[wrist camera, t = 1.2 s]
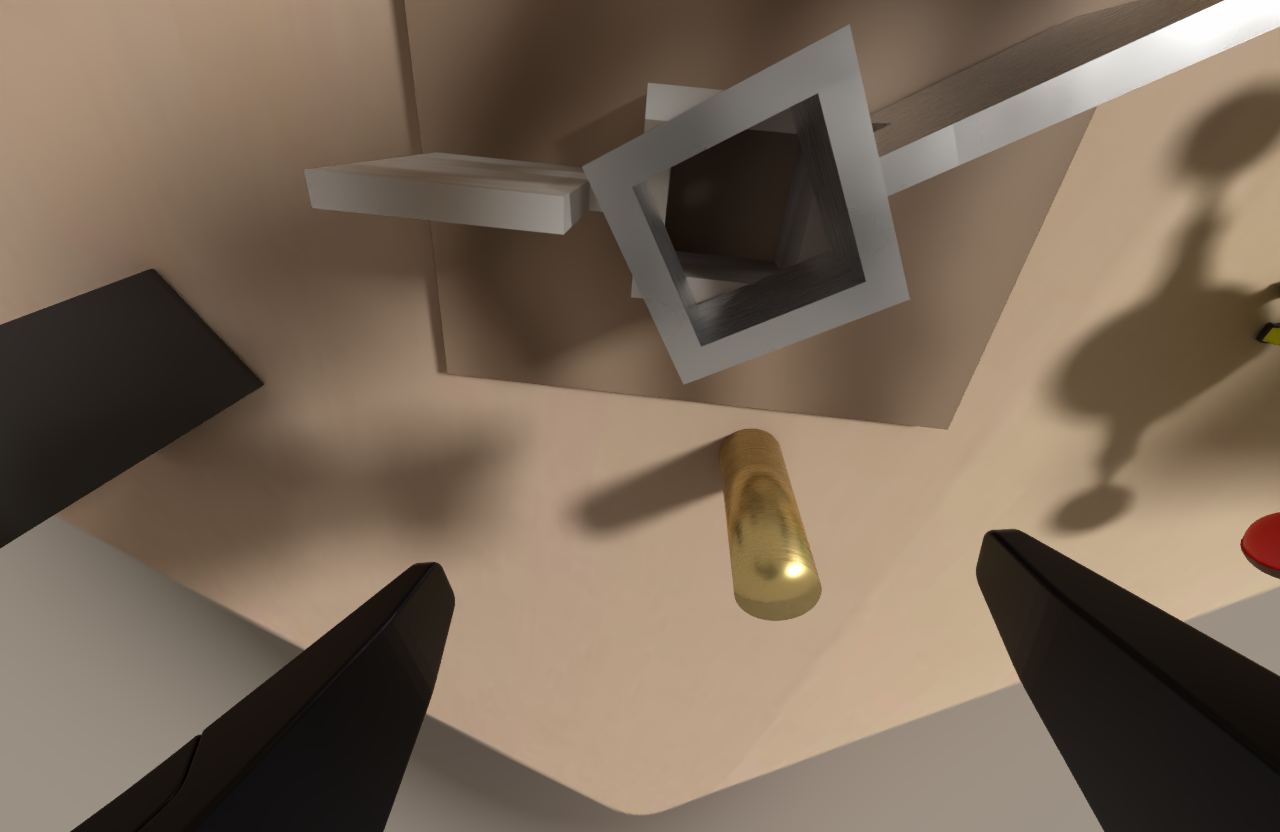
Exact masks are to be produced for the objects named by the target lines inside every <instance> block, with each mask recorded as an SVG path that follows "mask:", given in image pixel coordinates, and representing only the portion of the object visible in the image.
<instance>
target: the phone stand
mask: <svg viewBox="0 0 1280 832" xmlns="http://www.w3.org/2000/svg"><path fill="white" fill-rule="evenodd" d="M263 385H264V384H263V383H262V382H261V381H260V380H259V379H258V378H257V377H256V376H255V375H254V374H253V373H252V371H251V370H250V369H249V368H248V367H247V366H246V365H245V364H244V363H243V362H242V361H241V360H240V359H239V358H238V357H237V356H236V355H235V354H234V353H233V352H232V351H231V349H230V348H229V347H228V346H227V345H226V344H225V343H224V342H223V341H222V340H221V339H220V338H219V337H218V336H217V335H216V334H215V333H214V332H213V331H212V330H211V329H210V327H209V326H208V325H207V324H206V323H205V322H204V321H203V320H202V319H201V318H200V317H199V316H198V315H197V314H196V313H195V312H194V311H193V310H192V309H191V308H190V307H189V305H188V304H187V303H186V302H185V301H184V300H183V299H182V298H181V297H180V296H179V295H178V294H177V293H176V292H175V291H174V290H173V289H172V288H171V287H170V286H169V285H168V283H167V282H166V281H165V280H164V279H163V278H162V277H161V276H160V275H159V274H158V273H157V272H156V271H155V270H154V269H150V270H146V271H144V272H141V273H138V274H136V275H133V276H130V277H128V278H125V279H122V280H120V281H117V282H114V283H112V284H109V285H106V286H103V287H101V288H98V289H95V290H93V291H90V292H87V293H85V294H82V295H79V296H77V297H74V298H71V299H69V300H66V301H63V302H61V303H58V304H55V305H52V306H50V307H47V308H44V309H42V310H39V311H36V312H34V313H31V314H28V315H26V316H23V317H20V318H18V319H15V320H12V321H9V322H7V323H4V324H1V325H0V548H2V547H3V546H5V545H6V544H8V543H10V542H11V541H13V540H14V539H16V538H18V537H19V536H21V535H22V534H24V533H26V532H27V531H29V530H31V529H32V528H34V527H35V526H37V525H39V524H40V523H42V522H43V521H45V520H47V519H48V518H50V517H52V516H53V515H55V514H56V513H58V512H60V511H61V510H63V509H64V508H66V507H68V506H69V505H71V504H73V503H74V502H76V501H77V500H79V499H81V498H82V497H84V496H85V495H87V494H89V493H90V492H92V491H93V490H95V489H97V488H98V487H100V486H102V485H103V484H105V483H106V482H108V481H110V480H111V479H113V478H114V477H116V476H118V475H119V474H121V473H123V472H124V471H126V470H127V469H129V468H131V467H132V466H134V465H135V464H137V463H139V462H140V461H142V460H144V459H145V458H147V457H148V456H150V455H152V454H153V453H155V452H156V451H158V450H160V449H161V448H163V447H165V446H166V445H168V444H169V443H171V442H173V441H174V440H176V439H177V438H179V437H181V436H182V435H184V434H185V433H187V432H189V431H190V430H192V429H194V428H195V427H197V426H198V425H200V424H202V423H203V422H205V421H206V420H208V419H210V418H211V417H213V416H215V415H216V414H218V413H219V412H221V411H223V410H224V409H226V408H227V407H229V406H231V405H232V404H234V403H236V402H237V401H239V400H240V399H242V398H244V397H245V396H247V395H248V394H250V393H252V392H253V391H255V390H257V389H258V388H260V387H261V386H263Z"/></svg>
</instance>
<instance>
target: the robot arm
mask: <svg viewBox="0 0 1280 832" xmlns="http://www.w3.org/2000/svg"><path fill="white" fill-rule="evenodd" d="M976 577H977V581H978V584H979V587H980V589H981V591H982V594H983V596H984V598H985V601H986V603H987V605H988V608H989V610H990V612H991V614H992V617H993V619H994V621H995V624H996V626H997V628H998V631H999V633H1000V635H1001V638H1002V640H1003V642H1004V645H1005V647H1006V649H1007V652H1008V654H1009V656H1010V659H1011V661H1012V663H1013V666H1014V668H1015V670H1016V672H1017V674H1018V676H1019V679H1020V681H1021V682H1022V684H1023V686H1024V688H1025V690H1026V692H1027V694H1028V696H1029V697H1030V699H1031V701H1032V703H1033V704H1034V706H1035V708H1036V710H1037V712H1038V713H1039V715H1040V717H1041V719H1042V721H1043V723H1044V724H1045V726H1046V728H1047V730H1048V731H1049V733H1050V735H1051V737H1052V739H1053V740H1054V742H1055V744H1056V746H1057V748H1058V749H1059V751H1060V753H1061V755H1062V756H1063V758H1064V760H1065V762H1066V764H1067V766H1068V767H1069V769H1070V771H1071V773H1072V775H1073V776H1074V778H1075V780H1076V782H1077V783H1078V785H1079V787H1080V789H1081V791H1082V792H1083V794H1084V796H1085V798H1086V800H1087V801H1088V803H1089V805H1090V807H1091V809H1092V810H1093V812H1094V814H1095V815H1096V817H1097V819H1098V821H1099V823H1100V825H1101V826H1102V828H1103V830H1104V832H1280V676H1279V675H1277V674H1275V673H1273V672H1271V671H1270V670H1268V669H1266V668H1264V667H1263V666H1261V665H1259V664H1257V663H1256V662H1254V661H1252V660H1250V659H1248V658H1246V657H1245V656H1243V655H1241V654H1240V653H1238V652H1236V651H1234V650H1232V649H1230V648H1229V647H1227V646H1225V645H1223V644H1222V643H1220V642H1218V641H1216V640H1215V639H1213V638H1211V637H1209V636H1207V635H1206V634H1204V633H1202V632H1200V631H1198V630H1197V629H1195V628H1193V627H1191V626H1190V625H1188V624H1186V623H1184V622H1183V621H1181V620H1179V619H1177V618H1175V617H1174V616H1172V615H1170V614H1168V613H1167V612H1165V611H1163V610H1161V609H1159V608H1158V607H1156V606H1154V605H1152V604H1150V603H1149V602H1147V601H1145V600H1143V599H1142V598H1140V597H1138V596H1136V595H1134V594H1133V593H1131V592H1129V591H1127V590H1126V589H1124V588H1122V587H1120V586H1118V585H1117V584H1115V583H1113V582H1111V581H1110V580H1108V579H1106V578H1104V577H1102V576H1101V575H1099V574H1097V573H1095V572H1093V571H1092V570H1090V569H1088V568H1086V567H1085V566H1083V565H1081V564H1079V563H1077V562H1076V561H1074V560H1072V559H1070V558H1069V557H1067V556H1065V555H1063V554H1061V553H1060V552H1058V551H1056V550H1054V549H1053V548H1051V547H1049V546H1047V545H1045V544H1044V543H1042V542H1040V541H1038V540H1037V539H1035V538H1033V537H1031V536H1029V535H1028V534H1026V533H1024V532H1022V531H1020V530H1017V529H1003V530H991V531H988V532H987V533H986V534H985V535H984V538H983V542H982V546H981V550H980V554H979V558H978V562H977V566H976ZM454 607H455V597H454V593H453V590H452V588H451V586H450V584H449V581H448V579H447V577H446V575H445V572H444V570H443V568H442V566H441V565H440V564H439V563H436V562H426V563H417V564H414V565H412V566H411V567H409V568H408V569H407V570H406V571H404V572H403V573H402V574H401V575H399V576H398V577H397V578H396V579H394V580H393V581H392V582H390V583H389V584H388V585H387V586H385V587H384V588H383V589H382V590H380V591H379V592H378V593H377V594H375V595H374V596H373V597H371V598H370V599H369V600H368V601H366V602H365V603H364V604H363V605H361V606H360V607H359V608H358V609H356V610H355V611H354V612H353V613H351V614H350V615H349V616H347V617H346V618H345V619H344V620H342V621H341V622H340V623H339V624H337V625H336V626H335V627H334V628H332V629H331V630H330V631H328V632H327V633H326V634H325V635H323V636H322V637H321V638H320V639H318V640H317V641H316V642H315V643H313V644H312V645H311V646H310V647H308V648H307V649H306V650H304V651H303V652H302V653H301V654H299V655H298V656H297V657H296V658H295V659H293V660H292V661H291V662H289V663H288V664H287V665H285V666H284V667H283V668H282V669H280V670H279V671H278V672H277V673H276V674H274V675H273V676H272V677H270V678H269V679H268V680H266V681H265V682H264V683H263V684H261V685H260V686H259V687H258V688H256V689H255V690H254V691H253V692H251V693H250V694H249V695H247V696H246V697H245V698H244V699H242V700H241V701H240V702H239V703H237V704H236V705H235V706H234V707H232V708H231V709H230V710H229V711H227V712H226V713H225V714H224V715H222V716H221V717H220V718H218V719H217V720H216V721H215V722H213V723H212V724H211V725H210V726H208V727H207V728H206V729H205V730H204V731H203V732H202V735H197V736H195V737H194V738H193V739H192V740H191V741H189V742H188V743H187V744H186V745H184V746H183V747H182V748H181V749H179V750H178V751H177V752H175V753H174V754H173V755H171V756H170V757H169V758H168V759H166V760H165V761H164V762H162V763H161V764H160V765H159V766H157V767H156V768H155V769H153V770H152V771H151V772H150V773H148V774H147V775H146V776H144V777H143V778H142V779H140V780H139V781H138V782H137V783H135V784H134V785H133V786H132V787H130V788H129V789H127V790H126V791H125V792H124V793H122V794H121V795H120V796H118V797H117V798H115V799H114V800H113V801H111V802H110V803H109V804H107V805H106V806H105V807H103V808H102V809H101V810H99V811H98V812H97V813H95V814H94V815H92V816H91V817H90V818H88V819H87V820H85V821H84V822H83V823H82V824H80V825H79V826H77V827H76V828H75V829H73V830H72V831H71V832H383V831H384V829H385V826H386V823H387V820H388V817H389V814H390V812H391V809H392V806H393V803H394V801H395V797H396V795H397V792H398V789H399V787H400V784H401V781H402V778H403V775H404V773H405V770H406V766H407V764H408V762H409V759H410V756H411V753H412V750H413V748H414V745H415V742H416V739H417V736H418V734H419V731H420V728H421V725H422V722H423V720H424V717H425V714H426V711H427V708H428V705H429V702H430V699H431V696H432V693H433V690H434V686H435V683H436V679H437V675H438V671H439V667H440V663H441V659H442V655H443V651H444V647H445V643H446V639H447V635H448V631H449V627H450V623H451V619H452V615H453V611H454Z"/></svg>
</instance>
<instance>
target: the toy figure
mask: <svg viewBox="0 0 1280 832" xmlns="http://www.w3.org/2000/svg"><path fill="white" fill-rule="evenodd" d="M1256 340H1257V341H1259V342H1261V343H1272V344H1275V345H1279V346H1280V323H1277V324H1274V323H1268V324H1267V326H1266V327H1265V328H1264V329H1263V330H1262V332H1261V333H1260V334H1259V335H1258V336H1257V338H1256ZM1240 545H1241V550H1242V552H1243V554H1244V555H1245V557H1246V558H1247V560H1248V561H1249V562H1250V563H1251V564H1252V565H1253V566H1255V567H1256V568H1257V569H1259V570H1261V571H1262V572H1264V573H1266V574H1268V575H1271V576H1273V577H1275V578H1279V579H1280V512H1278V513H1274V514H1270V515H1267V516H1264V517H1262V518H1260V519H1258V520H1257V521H1255V522H1254V523H1253V524H1252V525H1251V526H1250V527H1249V528H1248V529H1247V531H1246V532H1245V534H1244V536H1243V539H1241V544H1240Z"/></svg>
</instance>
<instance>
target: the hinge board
mask: <svg viewBox="0 0 1280 832" xmlns="http://www.w3.org/2000/svg"><path fill="white" fill-rule="evenodd" d="M1132 1H1136V0H404V2H405V11H406V20H407V28H408V37H409V46H410V54H411V63H412V72H413V80H414V89H415V97H416V106H417V115H418V123H419V132H420V141H421V149H422V154H419V155H412V156H404V157H396V158H389V159H381V160H373V161H366V162H358V163H350V164H342V165H335V166H327V167H319V168H312V169H304V174H305V178H306V183H307V187H308V192H309V196H310V201H311V205H312V208H315V209H325V210H334V211H344V212H353V213H363V214H372V215H382V216H391V217H401V218H410V219H420V220H429V221H430V227H431V236H432V244H433V253H434V261H435V270H436V279H437V287H438V296H439V305H440V313H441V322H442V331H443V339H444V348H445V356H446V365H447V374H454V375H462V376H471V377H480V378H489V379H498V380H507V381H516V382H525V383H534V384H543V385H552V386H561V387H570V388H579V389H588V390H597V391H606V392H615V393H624V394H633V395H642V396H651V397H660V398H669V399H678V400H687V401H696V402H705V403H714V404H723V405H732V406H741V407H750V408H758V409H767V410H776V411H785V412H794V413H803V414H812V415H821V416H830V417H839V418H848V419H857V420H866V421H875V422H884V423H893V424H902V425H911V426H920V427H929V428H938V429H947V430H948V428H949V426H950V423H951V421H952V419H953V417H954V415H955V413H956V410H957V408H958V406H959V404H960V402H961V400H962V397H963V395H964V393H965V391H966V389H967V387H968V384H969V382H970V380H971V378H972V376H973V374H974V371H975V369H976V367H977V365H978V363H979V361H980V358H981V356H982V354H983V352H984V350H985V348H986V345H987V343H988V341H989V339H990V337H991V335H992V332H993V330H994V328H995V326H996V324H997V322H998V319H999V317H1000V315H1001V313H1002V311H1003V309H1004V307H1005V304H1006V302H1007V300H1008V298H1009V296H1010V294H1011V291H1012V289H1013V287H1014V285H1015V283H1016V281H1017V278H1018V276H1019V274H1020V272H1021V270H1022V268H1023V265H1024V263H1025V261H1026V259H1027V257H1028V255H1029V252H1030V250H1031V248H1032V246H1033V244H1034V242H1035V239H1036V237H1037V235H1038V233H1039V231H1040V229H1041V226H1042V224H1043V222H1044V220H1045V218H1046V216H1047V213H1048V211H1049V209H1050V207H1051V205H1052V203H1053V200H1054V198H1055V196H1056V194H1057V192H1058V190H1059V188H1060V185H1061V183H1062V181H1063V179H1064V177H1065V175H1066V172H1067V170H1068V168H1069V166H1070V164H1071V162H1072V159H1073V157H1074V155H1075V153H1076V151H1077V149H1078V146H1079V144H1080V142H1081V140H1082V138H1083V136H1084V133H1085V131H1086V129H1087V127H1088V125H1089V123H1090V120H1091V118H1092V116H1093V114H1094V112H1095V110H1096V107H1097V106H1095V107H1093V108H1090V109H1088V110H1086V111H1084V112H1081V113H1079V114H1077V115H1074V116H1072V117H1070V118H1067V119H1065V120H1063V121H1060V122H1058V123H1056V124H1054V125H1051V126H1049V127H1047V128H1044V129H1042V130H1040V131H1037V132H1035V133H1033V134H1031V135H1028V136H1026V137H1024V138H1021V139H1019V140H1017V141H1014V142H1012V143H1010V144H1007V145H1005V146H1003V147H1001V148H998V149H996V150H994V151H991V152H989V153H987V154H984V155H982V156H980V157H978V158H975V159H973V160H971V161H968V162H966V163H964V164H961V165H959V166H957V167H954V168H952V169H950V170H948V171H945V172H943V173H941V174H938V175H936V176H934V177H931V178H929V179H927V180H925V181H922V182H920V183H918V184H915V185H913V186H911V187H908V188H906V189H904V190H901V191H899V192H897V193H895V194H892V195H890V196H888V201H889V206H890V210H891V215H892V220H893V224H894V229H895V233H896V238H897V243H898V247H899V252H900V256H901V261H902V265H903V270H904V275H905V279H906V284H907V288H908V293H909V297H910V300H907V301H905V302H902V303H899V304H897V305H894V306H891V307H889V308H886V309H883V310H881V311H878V312H875V313H873V314H870V315H867V316H865V317H862V318H860V319H857V320H854V321H852V322H849V323H846V324H844V325H841V326H838V327H836V328H833V329H830V330H828V331H825V332H822V333H820V334H817V335H814V336H812V337H809V338H806V339H804V340H801V341H799V342H796V343H793V344H791V345H788V346H785V347H783V348H780V349H777V350H775V351H772V352H769V353H767V354H764V355H761V356H759V357H756V358H753V359H751V360H748V361H745V362H743V363H740V364H737V365H735V366H732V367H730V368H727V369H724V370H722V371H719V372H716V373H714V374H711V375H708V376H706V377H703V378H700V379H698V380H695V381H692V382H690V383H687V384H684V385H683V382H682V380H681V378H680V376H679V374H678V372H677V370H676V367H675V365H674V363H673V361H672V359H671V357H670V355H669V352H668V350H667V348H666V346H665V344H664V342H663V340H662V337H661V335H660V333H659V331H658V329H657V327H656V325H655V322H654V320H653V318H652V316H651V314H650V312H649V310H648V307H647V305H646V303H645V301H644V299H643V297H642V295H641V292H640V290H639V288H638V286H637V284H636V282H635V280H634V277H633V275H632V273H631V271H630V269H629V267H628V265H627V262H626V260H625V258H624V256H623V254H622V252H621V250H620V247H619V245H618V243H617V241H616V239H615V237H614V235H613V233H612V230H611V228H610V226H609V224H608V222H607V220H606V218H605V215H604V213H603V211H602V209H601V207H600V205H599V203H598V200H597V198H596V196H595V194H594V192H593V190H592V188H591V185H590V183H589V181H588V179H587V177H586V175H585V173H584V170H583V168H582V166H584V165H586V164H588V163H590V162H592V161H593V160H595V159H597V158H599V157H601V156H603V155H605V154H607V153H608V152H610V151H612V150H614V149H616V148H618V147H620V146H622V145H624V144H625V143H627V142H629V141H631V140H633V139H635V138H637V137H639V136H640V135H642V134H644V133H646V132H648V131H650V130H652V129H654V128H655V127H657V126H659V125H661V124H663V123H665V122H667V121H669V120H670V119H672V118H674V117H676V116H678V115H680V114H682V113H684V112H686V111H687V110H689V109H691V108H693V107H695V106H697V105H699V104H701V103H702V102H704V101H706V100H708V99H710V98H712V97H714V96H716V95H717V94H719V93H721V92H723V91H725V90H727V89H729V88H731V87H732V86H734V85H736V84H738V83H740V82H742V81H744V80H746V79H747V78H749V77H751V76H753V75H755V74H757V73H759V72H761V71H763V70H764V69H766V68H768V67H770V66H772V65H774V64H776V63H778V62H779V61H781V60H783V59H785V58H787V57H789V56H791V55H793V54H794V53H796V52H798V51H800V50H802V49H804V48H806V47H808V46H809V45H811V44H813V43H815V42H817V41H819V40H821V39H823V38H825V37H826V36H828V35H830V34H832V33H834V32H836V31H838V30H840V29H841V28H843V27H845V26H847V25H849V24H850V27H851V32H852V37H853V41H854V46H855V50H856V55H857V59H858V64H859V69H860V73H861V78H862V82H863V87H864V92H865V96H866V101H867V105H868V110H869V114H870V115H871V114H873V113H875V112H877V111H879V110H881V109H883V108H885V107H888V106H890V105H892V104H894V103H896V102H898V101H900V100H902V99H904V98H906V97H908V96H910V95H913V94H915V93H917V92H919V91H921V90H923V89H925V88H927V87H929V86H931V85H933V84H935V83H938V82H940V81H942V80H944V79H946V78H948V77H950V76H952V75H954V74H956V73H958V72H960V71H963V70H965V69H967V68H969V67H971V66H973V65H975V64H977V63H979V62H981V61H983V60H985V59H988V58H990V57H992V56H994V55H996V54H998V53H1000V52H1002V51H1004V50H1006V49H1008V48H1010V47H1013V46H1015V45H1017V44H1019V43H1021V42H1023V41H1025V40H1027V39H1029V38H1031V37H1033V36H1035V35H1038V34H1040V33H1042V32H1044V31H1046V30H1048V29H1050V28H1052V27H1054V26H1056V25H1058V24H1060V23H1063V22H1065V21H1067V20H1069V19H1071V18H1073V17H1076V16H1079V15H1083V14H1087V13H1091V12H1094V11H1098V10H1102V9H1106V8H1110V7H1113V6H1117V5H1121V4H1125V3H1128V2H1132ZM646 183H647V185H648V187H649V190H650V192H651V195H652V197H653V199H654V202H655V204H656V206H657V209H658V211H659V214H660V216H661V218H662V221H663V223H664V226H665V228H666V230H667V233H668V235H669V238H670V240H671V242H672V245H673V247H674V249H675V252H676V254H677V257H678V259H679V261H680V264H681V266H682V269H683V271H684V273H685V276H686V278H687V280H688V283H689V285H690V288H691V290H692V292H693V295H694V297H695V300H696V302H697V304H698V305H700V304H702V303H704V302H707V301H709V300H712V299H714V298H716V297H719V296H721V295H724V294H726V293H728V292H731V291H733V290H735V289H738V288H740V287H743V286H745V285H747V284H750V283H752V282H755V281H757V280H759V279H762V278H764V277H767V276H769V275H771V274H774V273H776V272H778V271H781V270H783V269H786V268H788V267H790V266H793V265H795V264H798V263H800V262H802V261H805V260H807V259H809V258H812V257H814V256H817V255H819V254H821V253H824V252H826V251H829V250H830V248H829V244H828V241H827V237H826V233H825V230H824V226H823V223H822V219H821V216H820V212H819V208H818V205H817V201H816V198H815V194H814V191H813V187H812V183H811V180H810V176H809V173H808V169H807V166H806V162H805V159H804V155H803V151H802V148H801V144H800V141H799V137H798V134H797V130H796V126H795V123H794V119H793V116H792V112H791V109H790V107H789V108H787V109H785V110H783V111H781V112H779V113H778V114H776V115H774V116H772V117H770V118H768V119H766V120H764V121H762V122H760V123H758V124H756V125H754V126H752V127H750V128H748V129H746V130H744V131H742V132H740V133H738V134H736V135H734V136H732V137H730V138H728V139H726V140H724V141H722V142H720V143H718V144H716V145H714V146H712V147H710V148H708V149H706V150H704V151H702V152H700V153H698V154H696V155H694V156H692V157H690V158H688V159H686V160H684V161H682V162H680V163H678V164H676V165H674V166H673V167H671V168H669V169H667V170H665V171H663V172H661V173H659V174H657V175H655V176H653V177H651V178H649V179H647V180H646Z"/></svg>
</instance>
